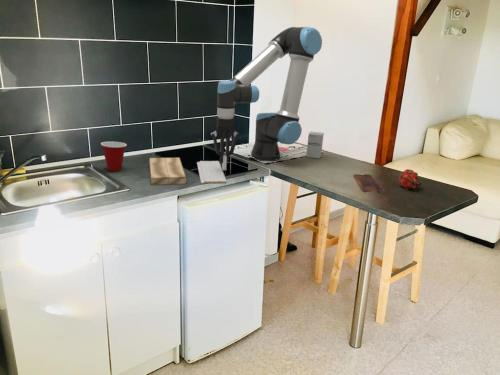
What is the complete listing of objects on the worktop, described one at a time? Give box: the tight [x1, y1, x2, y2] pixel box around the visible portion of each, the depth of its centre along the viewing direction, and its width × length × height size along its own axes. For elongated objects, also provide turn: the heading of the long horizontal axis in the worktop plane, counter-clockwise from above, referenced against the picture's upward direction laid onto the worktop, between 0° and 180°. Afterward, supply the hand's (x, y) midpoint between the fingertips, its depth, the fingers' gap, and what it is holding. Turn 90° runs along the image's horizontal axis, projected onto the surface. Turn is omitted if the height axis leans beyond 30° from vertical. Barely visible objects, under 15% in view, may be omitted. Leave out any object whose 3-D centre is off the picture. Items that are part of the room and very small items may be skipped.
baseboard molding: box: [196, 157, 227, 185], centre depth 192 cm, size 31×3×12 cm
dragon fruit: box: [398, 168, 422, 190], centre depth 184 cm, size 8×8×12 cm
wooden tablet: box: [353, 173, 387, 194], centre depth 188 cm, size 26×2×10 cm
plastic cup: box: [100, 141, 127, 172], centre depth 188 cm, size 11×11×12 cm
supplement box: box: [306, 131, 325, 159], centre depth 227 cm, size 7×7×13 cm
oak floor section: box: [149, 157, 187, 186], centre depth 187 cm, size 14×30×3 cm, turn 14°
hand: (224, 169), depth 194 cm, fingers closed
